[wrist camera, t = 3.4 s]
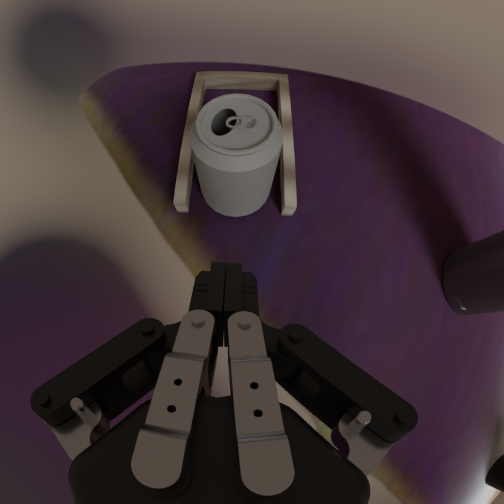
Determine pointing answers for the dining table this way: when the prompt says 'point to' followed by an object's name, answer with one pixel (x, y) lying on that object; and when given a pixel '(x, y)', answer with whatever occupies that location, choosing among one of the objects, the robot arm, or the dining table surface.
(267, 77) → the wooden frame
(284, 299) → the dining table surface
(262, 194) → the can
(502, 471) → the bottle
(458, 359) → the dining table surface
